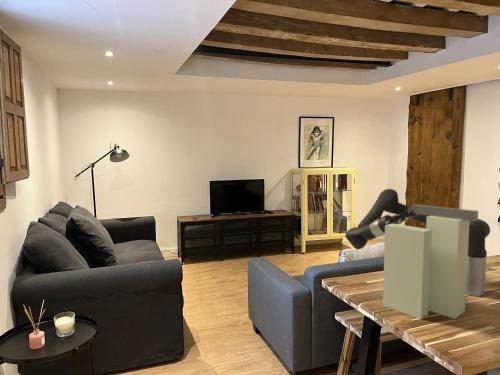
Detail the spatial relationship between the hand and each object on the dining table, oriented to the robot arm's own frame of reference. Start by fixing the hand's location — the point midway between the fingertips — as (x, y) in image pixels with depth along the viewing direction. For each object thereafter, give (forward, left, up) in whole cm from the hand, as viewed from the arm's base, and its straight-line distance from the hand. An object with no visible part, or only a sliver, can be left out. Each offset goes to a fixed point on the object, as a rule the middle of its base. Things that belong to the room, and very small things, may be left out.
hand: (413, 212), depth 156 cm
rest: (+12, +4, -38) cm, 40 cm away
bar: (0, +12, 0) cm, 12 cm away
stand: (0, +14, -38) cm, 41 cm away
